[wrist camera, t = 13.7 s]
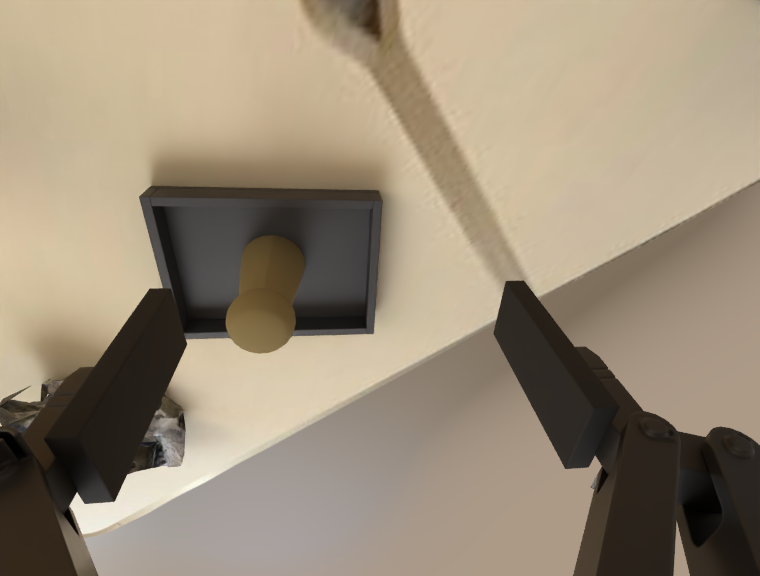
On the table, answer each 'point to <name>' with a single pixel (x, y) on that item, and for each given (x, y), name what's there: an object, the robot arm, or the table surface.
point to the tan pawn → (266, 295)
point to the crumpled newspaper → (156, 448)
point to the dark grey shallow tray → (263, 218)
